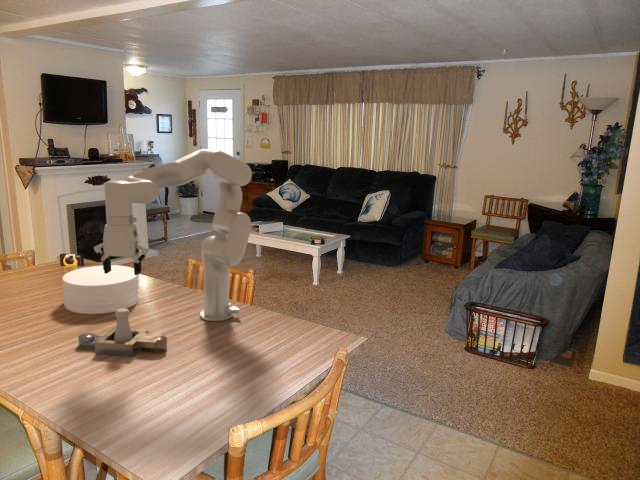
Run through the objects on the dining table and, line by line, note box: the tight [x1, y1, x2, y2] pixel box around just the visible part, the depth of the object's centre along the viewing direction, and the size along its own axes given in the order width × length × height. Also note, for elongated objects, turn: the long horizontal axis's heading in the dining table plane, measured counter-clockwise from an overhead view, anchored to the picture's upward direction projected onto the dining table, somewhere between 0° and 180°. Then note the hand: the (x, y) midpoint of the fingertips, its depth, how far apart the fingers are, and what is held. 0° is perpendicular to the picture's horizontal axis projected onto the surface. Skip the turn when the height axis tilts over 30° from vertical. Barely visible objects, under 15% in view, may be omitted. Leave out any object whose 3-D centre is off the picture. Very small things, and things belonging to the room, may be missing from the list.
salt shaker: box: [114, 308, 133, 342], centre depth 153 cm, size 6×6×13 cm
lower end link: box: [77, 332, 143, 358], centre depth 154 cm, size 20×12×3 cm, turn 86°
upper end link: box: [95, 326, 168, 354], centre depth 153 cm, size 20×12×4 cm, turn 86°
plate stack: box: [61, 264, 141, 315], centre depth 192 cm, size 28×28×12 cm
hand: (122, 273), depth 151 cm, fingers open, 9 cm apart
